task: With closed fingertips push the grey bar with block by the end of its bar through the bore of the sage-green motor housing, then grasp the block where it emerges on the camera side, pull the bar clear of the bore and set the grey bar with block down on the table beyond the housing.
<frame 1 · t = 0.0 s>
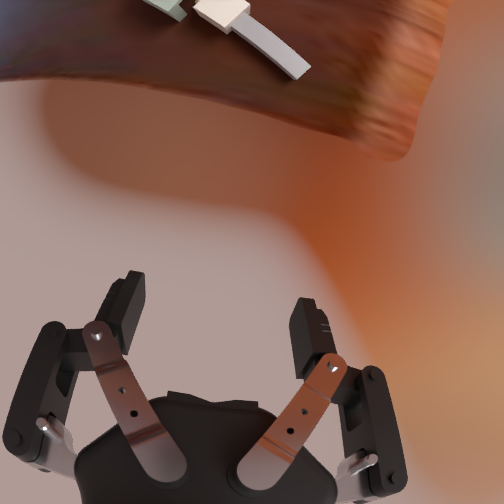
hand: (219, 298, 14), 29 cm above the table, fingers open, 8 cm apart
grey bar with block: (224, 14, 27), on the table
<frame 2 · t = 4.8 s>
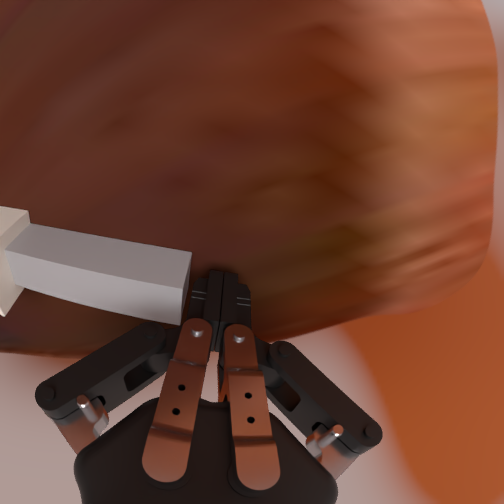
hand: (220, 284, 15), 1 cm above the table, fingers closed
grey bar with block: (10, 235, 14), on the table, touching gripper
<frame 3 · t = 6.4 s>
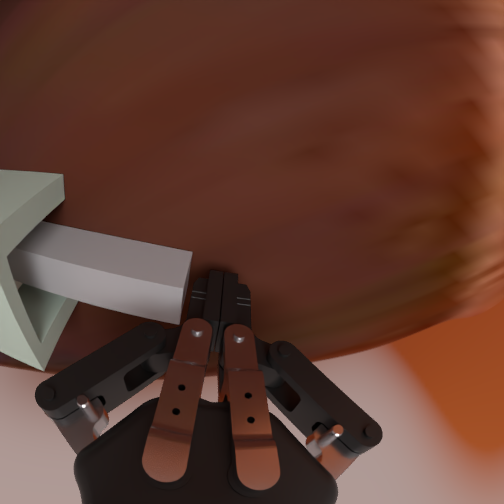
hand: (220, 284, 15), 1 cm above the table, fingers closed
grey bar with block: (9, 229, 14), on the table, touching gripper
housing: (30, 235, 14), on the table
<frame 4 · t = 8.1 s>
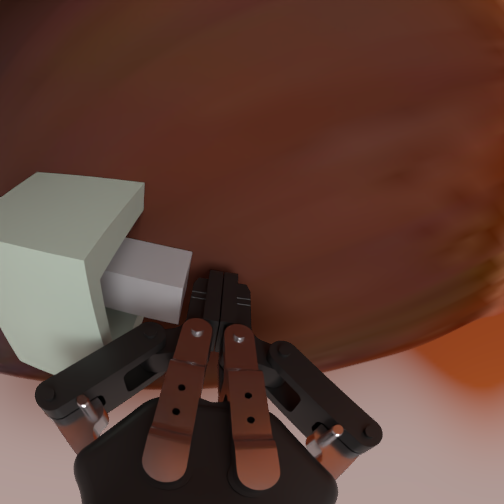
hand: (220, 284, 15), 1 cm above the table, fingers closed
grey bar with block: (8, 226, 14), on the table, touching gripper
housing: (90, 247, 15), on the table
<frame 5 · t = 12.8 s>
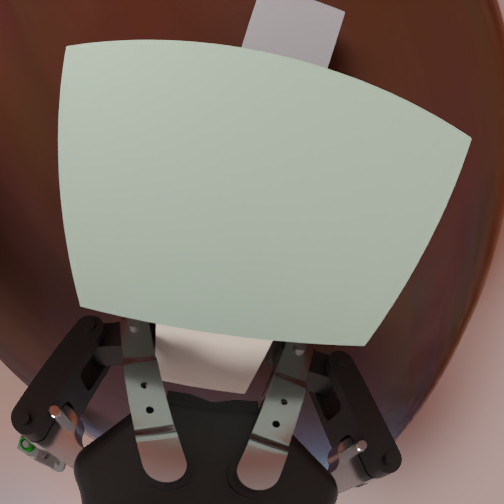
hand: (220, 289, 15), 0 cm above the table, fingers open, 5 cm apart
mechanical component: (61, 396, 26), on the table
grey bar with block: (216, 284, 15), on the table, touching gripper
housing: (248, 152, 11), on the table
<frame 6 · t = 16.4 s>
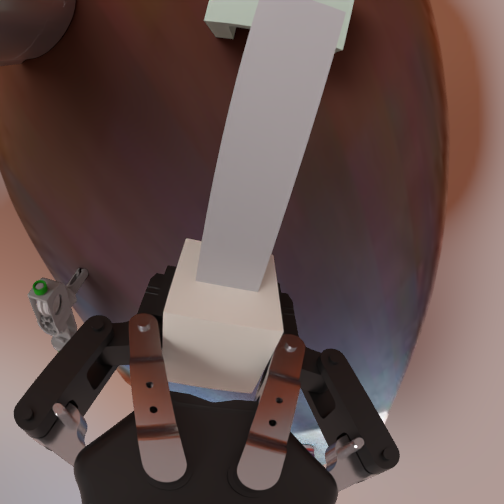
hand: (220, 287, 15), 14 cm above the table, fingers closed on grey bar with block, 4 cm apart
mechanical component: (83, 270, 32), on the table
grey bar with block: (221, 284, 15), point 13 cm above the table, touching gripper
housing: (276, 11, 17), on the table
when the fingers open (1 cm above the table, at t = 19.7 s): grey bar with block stays where it is, on the table.
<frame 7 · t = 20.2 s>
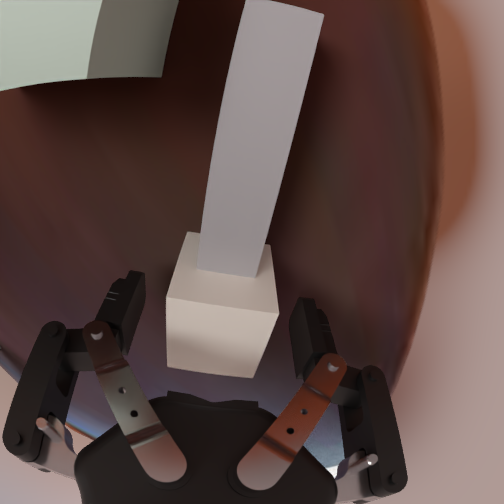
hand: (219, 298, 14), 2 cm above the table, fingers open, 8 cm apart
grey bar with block: (222, 275, 16), on the table
housing: (89, 13, 8), on the table
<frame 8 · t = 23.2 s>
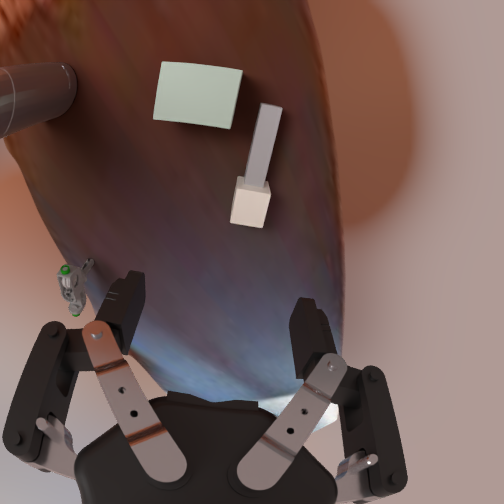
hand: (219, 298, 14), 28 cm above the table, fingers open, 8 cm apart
mechanical component: (91, 260, 47), on the table
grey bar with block: (249, 194, 41), on the table
housing: (203, 92, 32), on the table
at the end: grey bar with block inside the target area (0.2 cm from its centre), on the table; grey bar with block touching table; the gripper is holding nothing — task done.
